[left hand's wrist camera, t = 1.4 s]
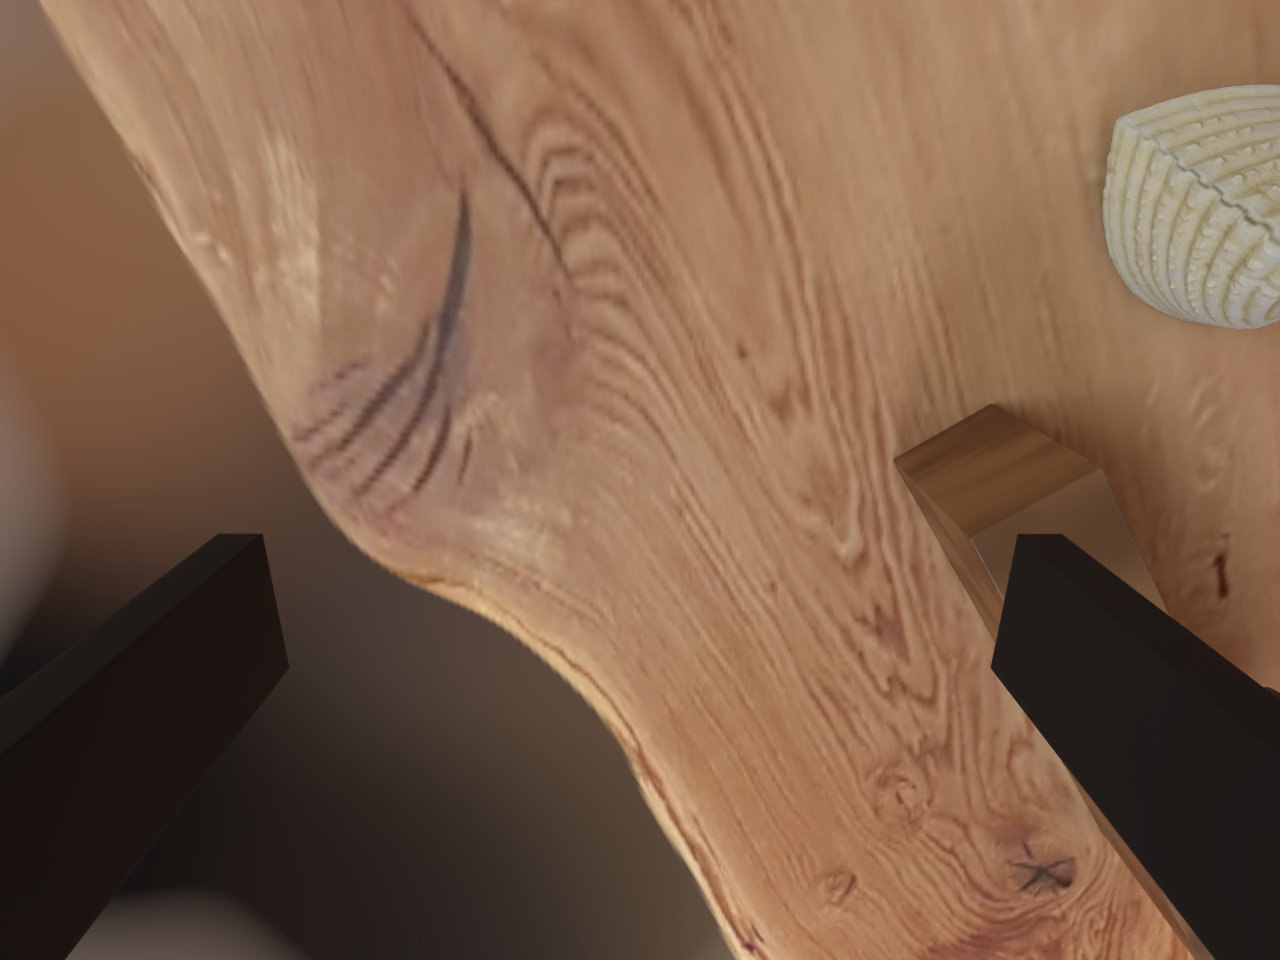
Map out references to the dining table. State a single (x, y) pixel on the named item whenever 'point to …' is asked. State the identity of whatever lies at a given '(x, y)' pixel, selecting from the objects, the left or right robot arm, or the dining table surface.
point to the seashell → (1199, 205)
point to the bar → (1027, 504)
